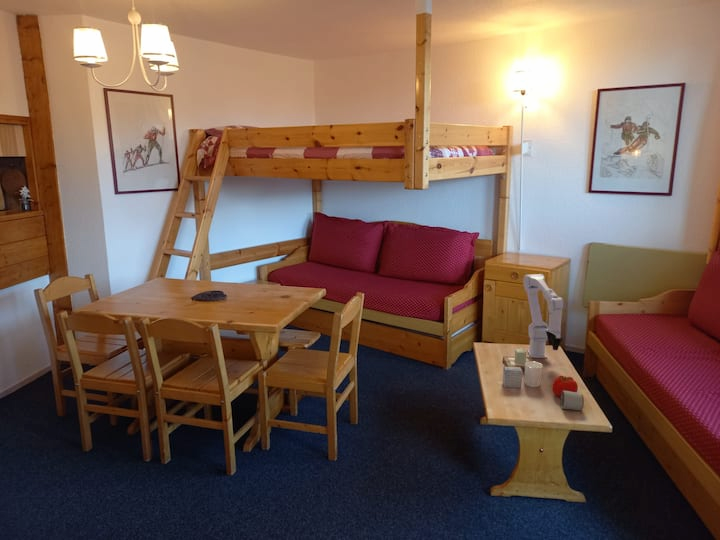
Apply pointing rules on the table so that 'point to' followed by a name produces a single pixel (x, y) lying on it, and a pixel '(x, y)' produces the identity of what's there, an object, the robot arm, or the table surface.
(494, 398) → the table surface
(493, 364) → the table surface
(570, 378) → the tomato
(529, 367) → the white cup
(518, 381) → the medicine box
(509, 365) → the plinth
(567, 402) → the grey cylinder
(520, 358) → the sage block
